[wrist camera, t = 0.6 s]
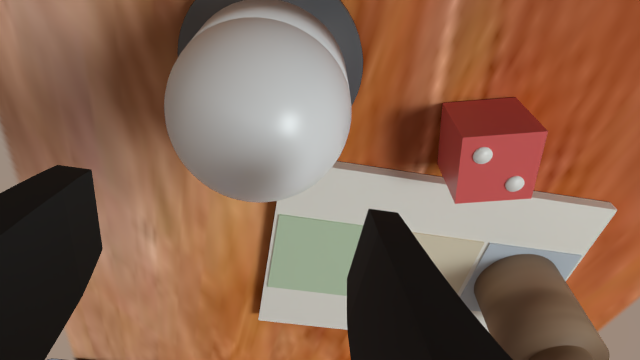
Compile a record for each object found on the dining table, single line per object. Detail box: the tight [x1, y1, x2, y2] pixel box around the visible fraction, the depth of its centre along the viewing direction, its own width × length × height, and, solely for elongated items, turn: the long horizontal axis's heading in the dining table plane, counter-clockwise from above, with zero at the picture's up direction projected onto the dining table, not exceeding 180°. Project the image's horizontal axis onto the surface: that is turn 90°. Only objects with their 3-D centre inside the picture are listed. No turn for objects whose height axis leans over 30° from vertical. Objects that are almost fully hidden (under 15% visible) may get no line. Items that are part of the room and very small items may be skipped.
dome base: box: [178, 0, 363, 106], centre depth 17 cm, size 7×7×1 cm
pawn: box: [474, 254, 609, 360], centre depth 20 cm, size 4×4×6 cm
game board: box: [258, 161, 617, 332], centre depth 23 cm, size 11×16×1 cm
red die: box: [437, 97, 548, 204], centre depth 17 cm, size 3×3×3 cm
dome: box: [164, 0, 351, 202], centre depth 13 cm, size 6×6×6 cm
